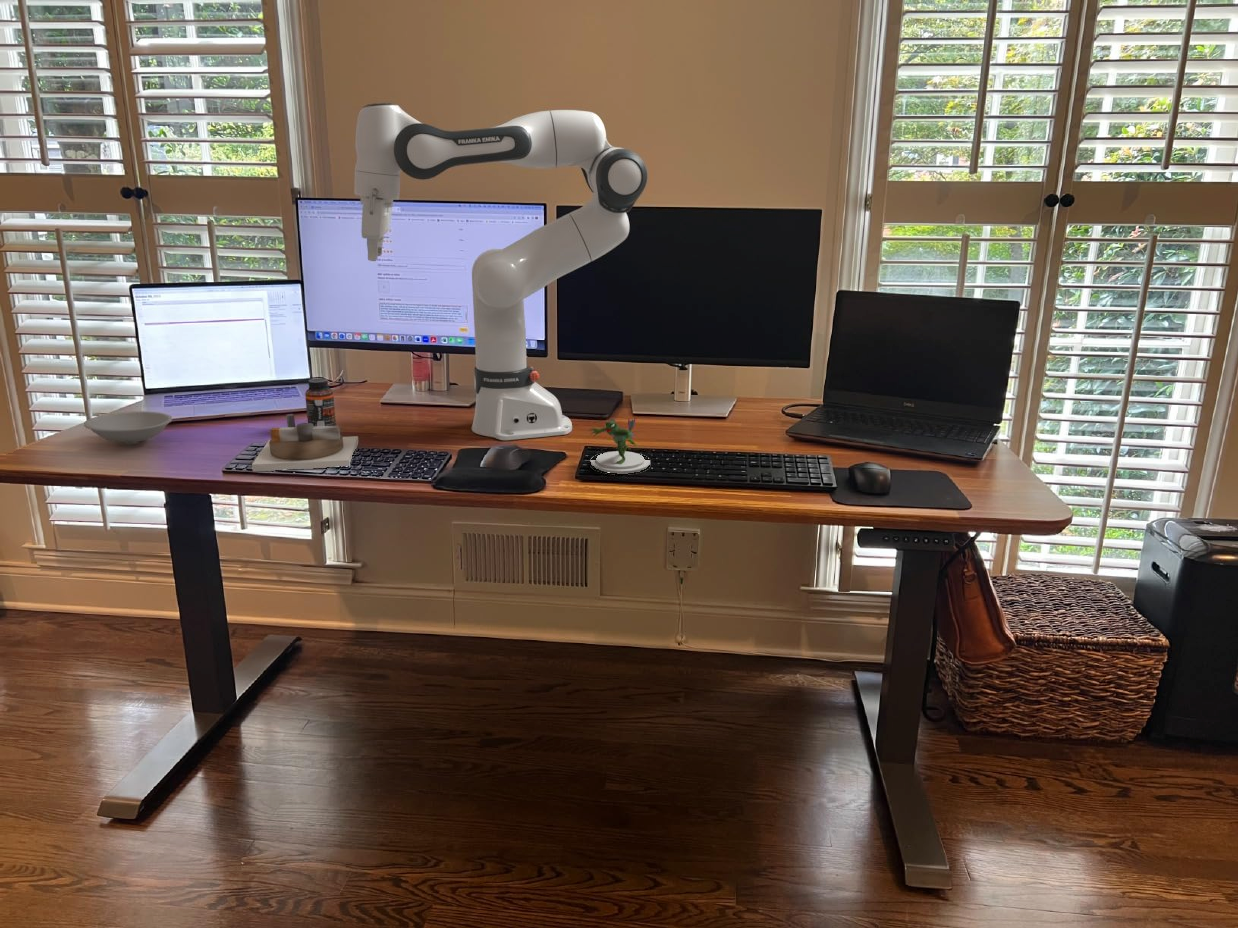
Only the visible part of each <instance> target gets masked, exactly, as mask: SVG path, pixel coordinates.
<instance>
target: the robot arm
mask: <svg viewBox="0 0 1238 928" xmlns="http://www.w3.org/2000/svg"><path fill="white" fill-rule="evenodd" d="M355 128H356V129H355V131H356V132H355V141H354V142H355V144H354V145H355V148H354V149H355V152H356V164H355V167H354V183H353V184H354V191H353V192H354V193H353V194H354V195H355V196H359V197H360V205H362V210H361V211H362V212H361V231H360V232H361V237H362V238H363V239H366V247H367V260H368V261H370V262H376V261H378V258H379V257H380V256H382V255H383V243H384V238H385V235H386V234H387V233H388V232H389V230H390V227H391V219H392V212H393V207H394V200H395V201H396V200H397V201H398V200H400V197H401V196H400V195H401V193H400V192H401V189H400V188H401V173H402V172H403V173H405V175H407V176H409V177H411V178H413V179H415V180H422V181H423V180H425V181H426V180H429V179H433V178H435V177H436V176H439V175H440V174H442V173H443V172H445V171H446V170H448V169H450V168H454V167H459V166H467V165H475V164H476V165H477V164H486V163H502V164H503V163H505V164H510V165H513V166H517V167H521V168H528V169H556V168H564V167H578V168H580V169H581V172H582V175H583V177H584V179H585V182H586V185H587V186H588V188H589V190H590V191H591V192H592V196H591V198H590V200H589V201H588V202H586V204H584V205H583V206H581V207H580V208H578V209H575V210H573V211H571V212H569V213H567V214H565V215H562V216H561V217H559V218H557V219H554V220H553V221H550V222H549V223H546V224H545V225H542V226H540V227H538V228H537V229H534V230H533V231H532V232H530V233H529V234H528V233H527V235H525V236H523V237H521V238H520V239H518V240H517V241H515V242H513V243H511V244H509V245H507V246H506V247H504V248H502V249H501V248H492V249H488V250H485V251H483V252H482V253H481V254H480V255H478V257H477V258H476V259H475V261H474V263H473V265H472V269H471V283H472V284H471V285H472V288H471V289H472V305H473V306H472V307H473V309H472V310H473V324H474V325H473V326H474V346H475V349H474V350H475V367H474V373H473V381H474V383H473V384H474V391H475V393H476V398H475V399H476V400H475V409H474V417H473V422H472V425H471V430H472V432H473V433H475V434H477V435H481V436H485V437H490V438H495V439H497V440H500V441H515V440H523V439H534V438H543V437H544V438H545V437H553V436H562V435H563V436H564V435H568V434H570V433H571V432H572V430H573V425H572V424H573V423H572V421H571V419H570V418H569V417H568V416H566V415H564V414H563V412H562V407H561V403H560V401H559V399H558V398H557V397H556V396H555V395H554V394H553V393H551V392H550V391H548V390H547V389H546V388H544V387H543V386H541V385H540V384H539V383H537V381H539V379H540V374H539V372H538V371H536V369H535V368H533V366H529V365H527V335H526V334H527V330H526V329H527V328H526V320H525V319H526V318H525V317H526V316H525V303H524V300H525V299H526V298H529V297H530V296H531V295H533V294H535V293H536V292H537V293H538V291H540V290H541V289H543V288H546V286H548V285H550V284H551V283H552V282H554V281H556V280H557V279H559V278H561V277H563V276H566V275H567V274H570V273H571V272H574V271H575V270H577V269H579V268H581V267H583V266H586V265H587V264H589V263H591V262H594V261H596V260H597V259H599V258H601V257H602V256H604V255H606V254H607V253H610V251H612V250H614V249H615V248H616V247H617V246H619V245H620V244H622V243H623V242H624V241H625V240H626V239H627V238H628V236H629V233H630V221H629V216H628V214H627V213H628V212H630V211H631V209H633V207H634V205H635V203H637V201H638V200H639V198H640V197H641V195H642V194H643V192H644V190H645V189H646V186H647V183H648V170H647V166H646V164H645V162H644V160H643V159H642V158H641V156H640V155H639V154H637V153H636V152H635V151H633V150H630V149H627V148H623V147H616V146H613V145H611V144H610V143H609V141H608V139H607V131H606V128H605V125H604V122H603V121H602V119H601V118H600V117H599V115H597V114H596V113H595V112H592V111H587V110H578V109H555V110H554V109H553V110H542V111H536V112H531V113H527V114H525V115H521V116H517V117H515V118H513V119H510V120H509V121H507V122H505V123H503V124H500V125H496V126H492V127H486V128H485V127H484V128H476V129H475V128H474V129H463V130H461V129H460V130H444V129H440V128H438V127H436V126H433V125H429V124H426V123H422V122H420V121H419V120H417V119H415V118H414V117H412V116H411V115H410V114H408V113H407V112H406V111H404V110H403V109H402V108H401V106H399V105H398V104H396V103H393V102H387V103H386V102H377V103H369V104H366V105H365V106H363V107H362V108H361V109H360V111H359V112H358V116H357V120H356V127H355Z"/></svg>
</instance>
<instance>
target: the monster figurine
mask: <svg viewBox="0 0 1238 928" xmlns="http://www.w3.org/2000/svg"><path fill="white" fill-rule="evenodd" d="M627 419H628V420H627V425H628V429H626V428H625V429H624V428H622V427H621V425H619V424H618V422H616V419H614V418H610V419H609V421H606V420H605V421H604V422H605V426H603V427H602V428H596V427H594V426H592V428H591V429H589V430H588V432H591V431H592V432H591V433H590V436H591V435H592V434H594V435H593V436H592V437H593V438H594V437H595V436H597V435H598V434H601V433H603V432H606V433H607V434H608V435H609V436H612V439H613V442H614V443H615V444H617V450H615V451H607V452H603V454H602V453H599V454H600V455H598V454H597V455H598V456H597V458H596V460H591V459H592V458H593V457H591V458H590V460H589V461H590V462H591V465H592V466H594V467H595V468H596V469H599V470H601V471H604V472H610V473H617V474H628V473H634V472H640V471H641V470H644V469H646V468H647V467H648V466H649V465H650V466H651V459H650V458H649V457H648V459H650V460H645V459H644V457H643V456H642V455H643V454H641V455H640V453H636V452H634V451H633V452H632V451H627V449H628V445H627V443H626V442H629V443H630V445H633V446H634V447H636V443H635V442H634V440H632V439H633V438H634V436H635V435H636V433H635V431H632V430H633V429H634V427H635V424H636V418H634V419H631V420H630V418H627ZM590 462H589V463H590ZM640 473H641V472H640ZM628 475H629V474H628Z"/></svg>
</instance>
